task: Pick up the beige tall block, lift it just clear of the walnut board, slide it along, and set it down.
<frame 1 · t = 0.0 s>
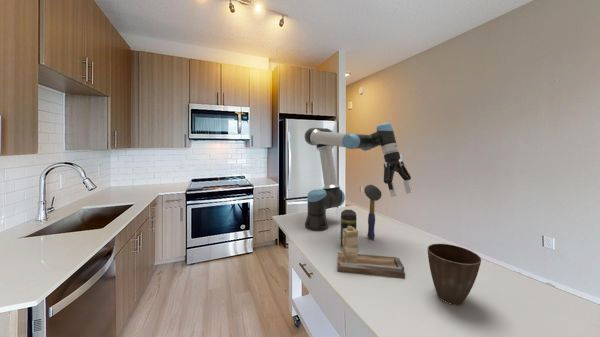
hand: (402, 194, 111), 28 cm above the worktop, tool tilted 20°, fingers open, 13 cm apart
rubber mallet: (370, 238, 127), on the worktop
beige tall block: (349, 261, 98), point 2 cm above the worktop, touching walnut board
walnut board: (368, 266, 97), on the worktop
coffee jar: (347, 246, 118), on the worktop
plant pot: (449, 298, 77), on the worktop
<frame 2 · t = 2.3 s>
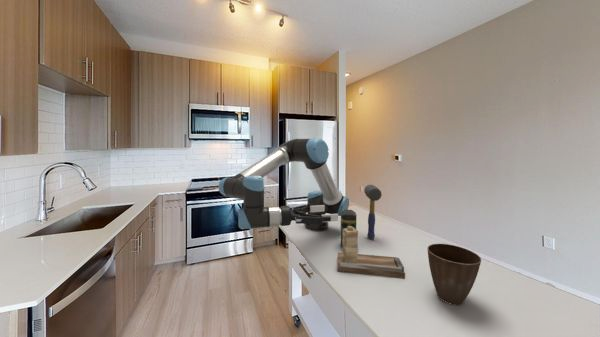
hand: (330, 212, 93), 24 cm above the worktop, tool horizontal, fingers open, 13 cm apart
nothing on the worktop moved.
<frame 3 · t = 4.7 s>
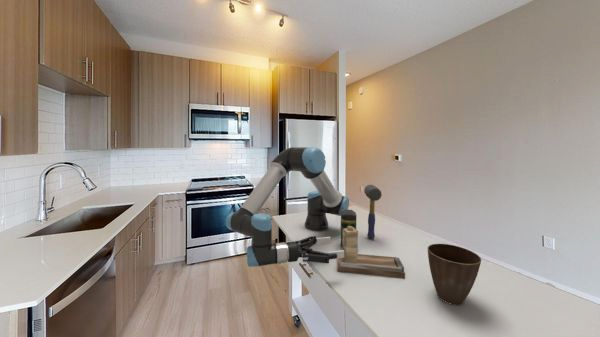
hand: (336, 246, 95), 10 cm above the worktop, tool horizontal, fingers open, 13 cm apart
nothing on the worktop moved.
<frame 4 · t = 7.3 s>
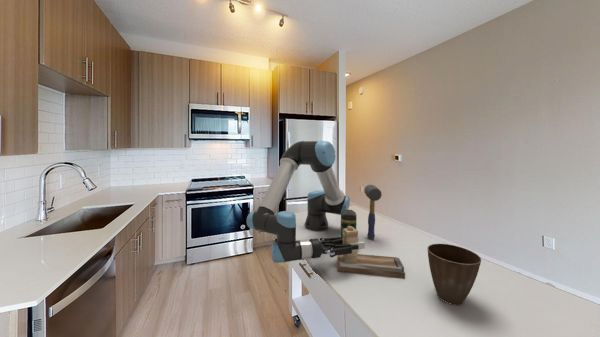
hand: (361, 242, 98), 10 cm above the worktop, tool horizontal, fingers closed on beige tall block, 4 cm apart
beige tall block: (349, 261, 98), point 2 cm above the worktop, touching gripper, walnut board
everything else where it was.
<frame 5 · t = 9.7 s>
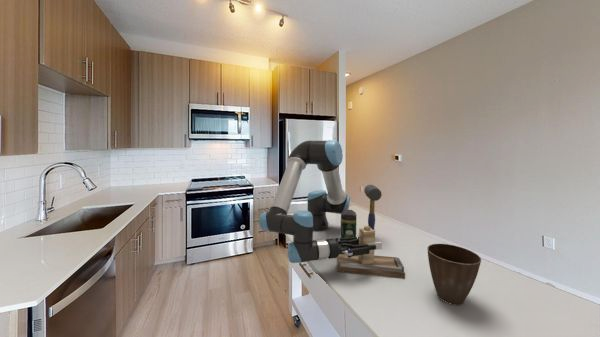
hand: (377, 242, 96), 10 cm above the worktop, tool horizontal, fingers closed on beige tall block, 4 cm apart
beige tall block: (366, 261, 96), point 3 cm above the worktop, touching gripper
everything else where it was.
when the fingers open (10 cm above the worktop, at t = 12.2 s): beige tall block stays where it is, resting on walnut board.
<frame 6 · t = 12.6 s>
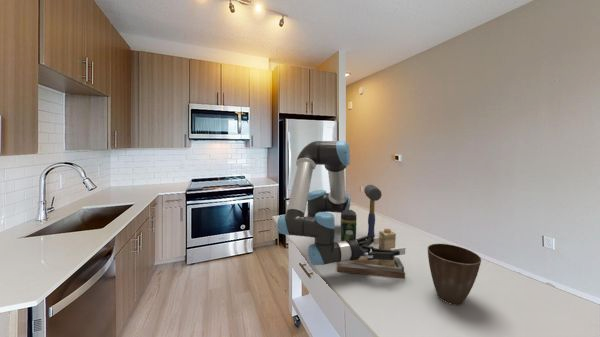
hand: (395, 244, 95), 10 cm above the worktop, tool horizontal, fingers open, 10 cm apart
beige tall block: (386, 264, 95), point 2 cm above the worktop, touching walnut board
everything else where it was.
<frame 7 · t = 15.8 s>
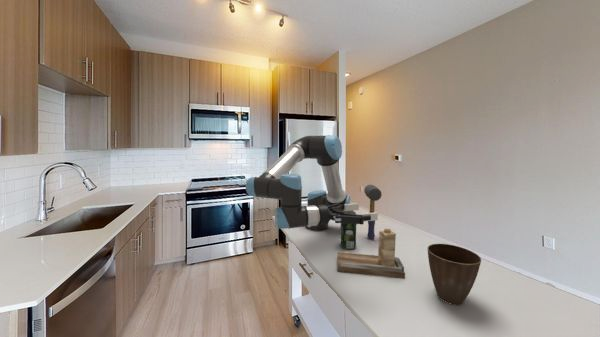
hand: (367, 211, 90), 26 cm above the worktop, tool horizontal, fingers open, 13 cm apart
nothing on the worktop moved.
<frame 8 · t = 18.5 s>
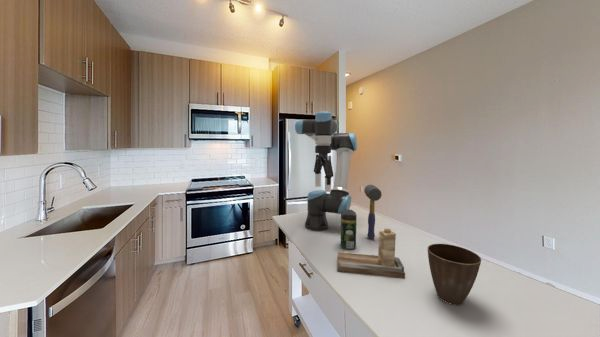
hand: (322, 189, 110), 31 cm above the worktop, tool pointing down, fingers open, 13 cm apart
nothing on the worktop moved.
at the end: beige tall block inside the target area (0.0 cm from its centre), point 2.0 cm above the worktop; beige tall block tilted 0°; the gripper is holding nothing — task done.
